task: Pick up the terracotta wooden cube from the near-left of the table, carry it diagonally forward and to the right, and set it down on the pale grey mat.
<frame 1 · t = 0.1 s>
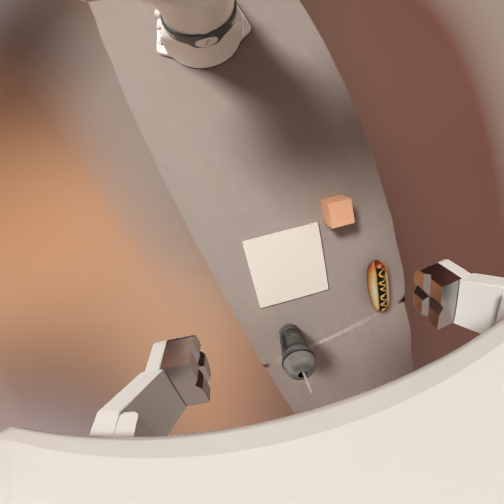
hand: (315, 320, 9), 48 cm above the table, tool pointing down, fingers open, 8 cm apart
beverage cup: (288, 331, 68), on the table
hot dog: (372, 281, 65), on the table
cube: (332, 208, 58), on the table
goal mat: (287, 266, 61), on the table
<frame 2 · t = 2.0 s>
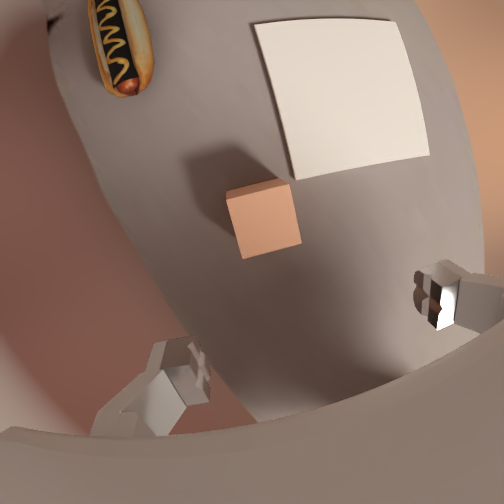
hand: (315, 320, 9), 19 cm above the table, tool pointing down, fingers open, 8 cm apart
hot dog: (130, 44, 20), on the table
cube: (258, 209, 27), on the table
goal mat: (352, 88, 24), on the table
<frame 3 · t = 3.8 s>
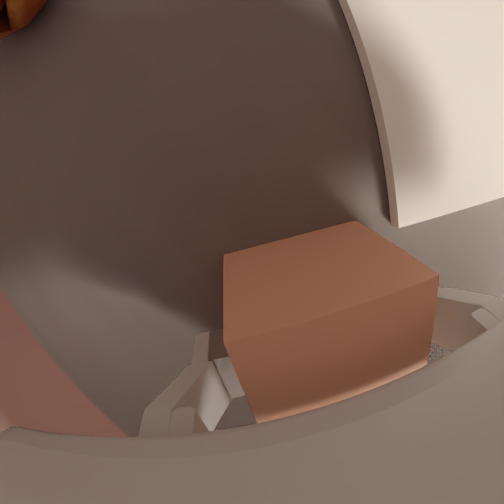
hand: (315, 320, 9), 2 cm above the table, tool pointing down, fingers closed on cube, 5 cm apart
cube: (303, 295, 11), on the table, touching gripper
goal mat: (477, 43, 7), on the table
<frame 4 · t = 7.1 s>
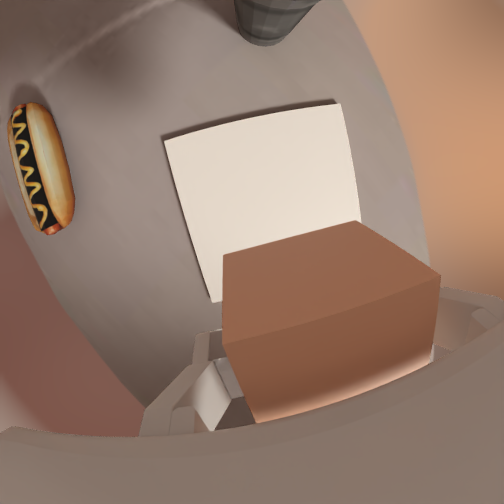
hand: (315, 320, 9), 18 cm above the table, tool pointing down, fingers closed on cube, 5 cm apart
beverage cup: (262, 27, 20), on the table
hot dog: (56, 162, 23), on the table
cube: (303, 296, 11), point 16 cm above the table, touching gripper
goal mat: (273, 203, 26), on the table
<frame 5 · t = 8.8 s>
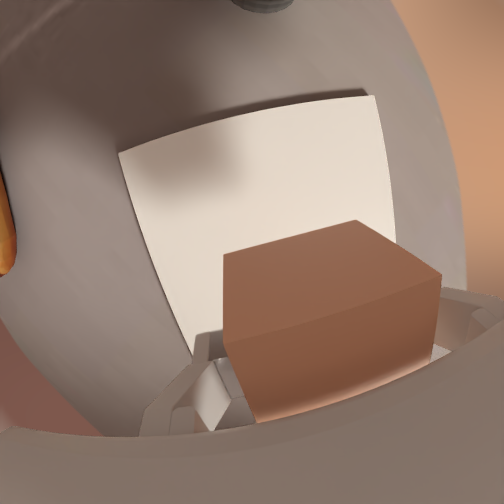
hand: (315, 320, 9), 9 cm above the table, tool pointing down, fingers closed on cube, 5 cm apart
cube: (304, 296, 11), point 8 cm above the table, touching gripper
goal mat: (279, 240, 18), on the table
when the fingers open (4 cm above the table, at t = 10.2 s): cube drops 2 cm, resting on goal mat.
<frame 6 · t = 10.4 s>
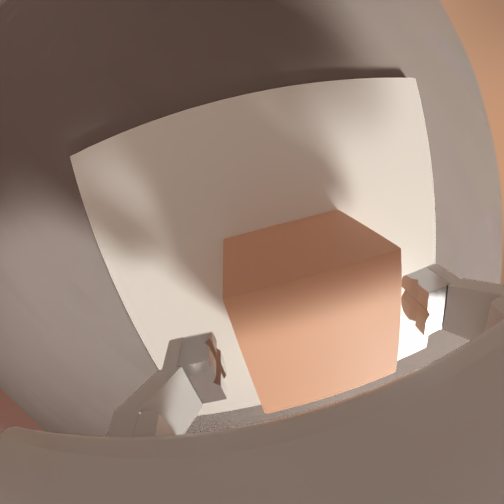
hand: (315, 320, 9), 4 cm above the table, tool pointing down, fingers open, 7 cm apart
cube: (293, 276, 13), point 1 cm above the table, touching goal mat
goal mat: (290, 271, 13), on the table
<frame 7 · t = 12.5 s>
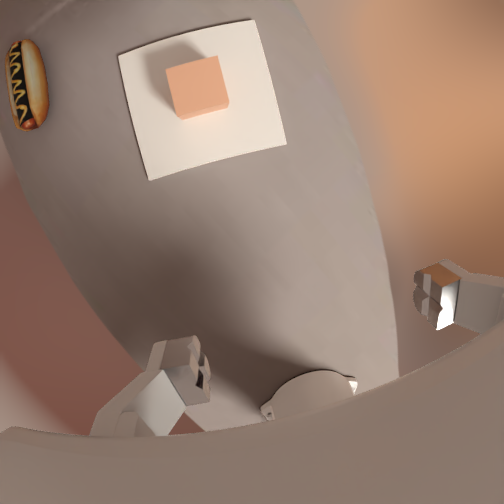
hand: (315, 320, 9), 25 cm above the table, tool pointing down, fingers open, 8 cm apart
hot dog: (38, 84, 24), on the table
cube: (199, 93, 27), point 1 cm above the table, touching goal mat
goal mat: (200, 94, 28), on the table
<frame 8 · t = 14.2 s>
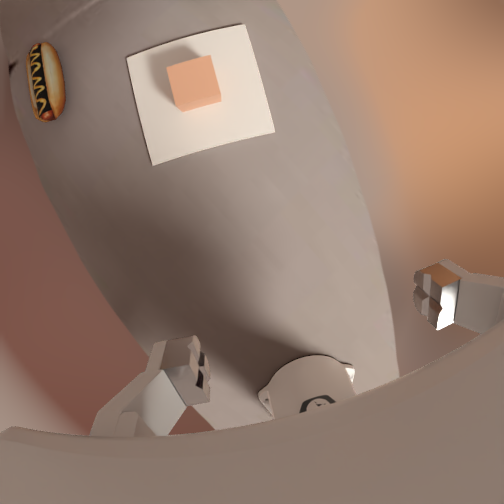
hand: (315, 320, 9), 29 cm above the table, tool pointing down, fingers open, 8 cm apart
hot dog: (56, 82, 28), on the table
cube: (197, 88, 31), point 1 cm above the table, touching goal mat
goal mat: (197, 90, 31), on the table
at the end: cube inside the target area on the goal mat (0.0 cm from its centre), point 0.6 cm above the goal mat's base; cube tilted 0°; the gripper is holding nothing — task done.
